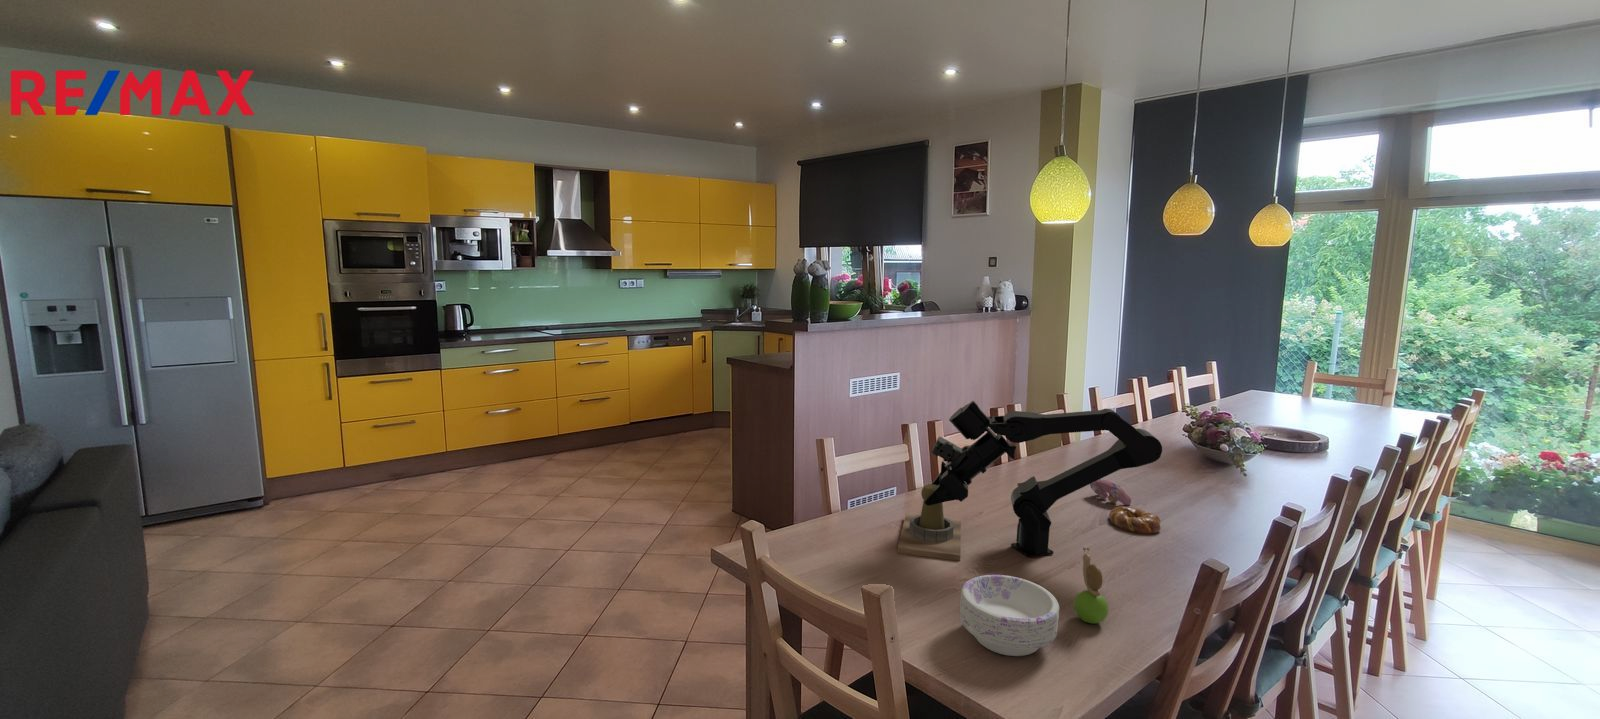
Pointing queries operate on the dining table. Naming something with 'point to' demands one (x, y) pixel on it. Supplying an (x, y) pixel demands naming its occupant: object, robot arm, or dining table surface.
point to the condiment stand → (930, 539)
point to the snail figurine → (1091, 594)
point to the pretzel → (1135, 520)
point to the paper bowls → (1009, 614)
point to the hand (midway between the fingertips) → (926, 498)
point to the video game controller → (1110, 491)
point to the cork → (931, 511)
